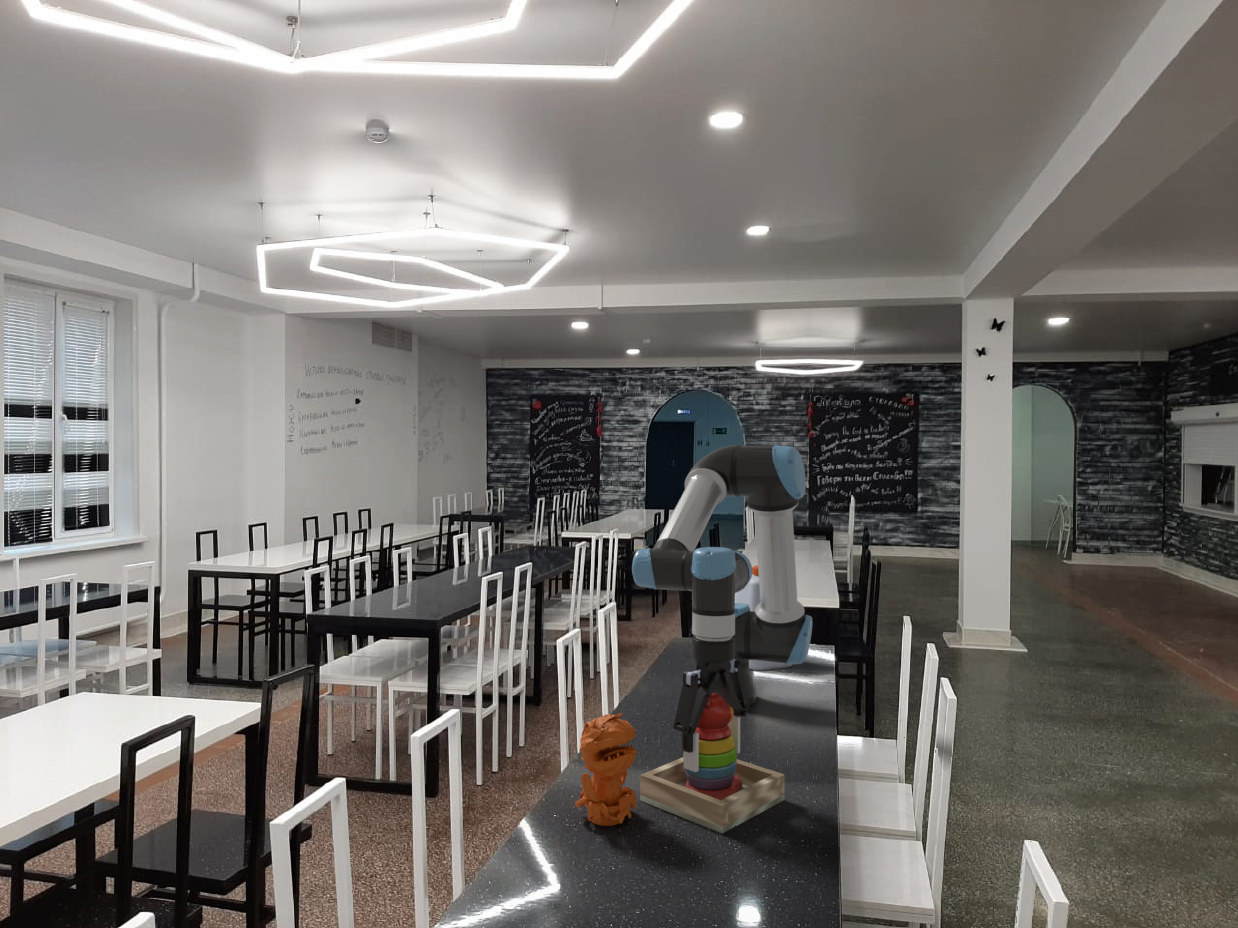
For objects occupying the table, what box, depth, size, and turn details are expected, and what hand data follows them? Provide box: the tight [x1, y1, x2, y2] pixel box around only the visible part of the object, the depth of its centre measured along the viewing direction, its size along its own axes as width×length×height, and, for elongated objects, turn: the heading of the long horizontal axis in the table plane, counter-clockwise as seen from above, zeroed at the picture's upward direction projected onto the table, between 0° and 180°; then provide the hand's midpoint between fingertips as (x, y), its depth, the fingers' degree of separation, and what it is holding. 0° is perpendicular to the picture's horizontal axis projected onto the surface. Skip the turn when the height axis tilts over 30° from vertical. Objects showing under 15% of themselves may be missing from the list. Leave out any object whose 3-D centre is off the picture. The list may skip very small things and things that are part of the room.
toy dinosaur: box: [574, 712, 638, 827], centre depth 139 cm, size 11×11×18 cm
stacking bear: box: [682, 693, 742, 800], centre depth 147 cm, size 11×10×18 cm
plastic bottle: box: [735, 564, 793, 671], centre depth 239 cm, size 15×15×28 cm
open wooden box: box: [639, 756, 785, 834], centre depth 147 cm, size 18×18×4 cm
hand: (712, 760), depth 147 cm, fingers open, 11 cm apart
